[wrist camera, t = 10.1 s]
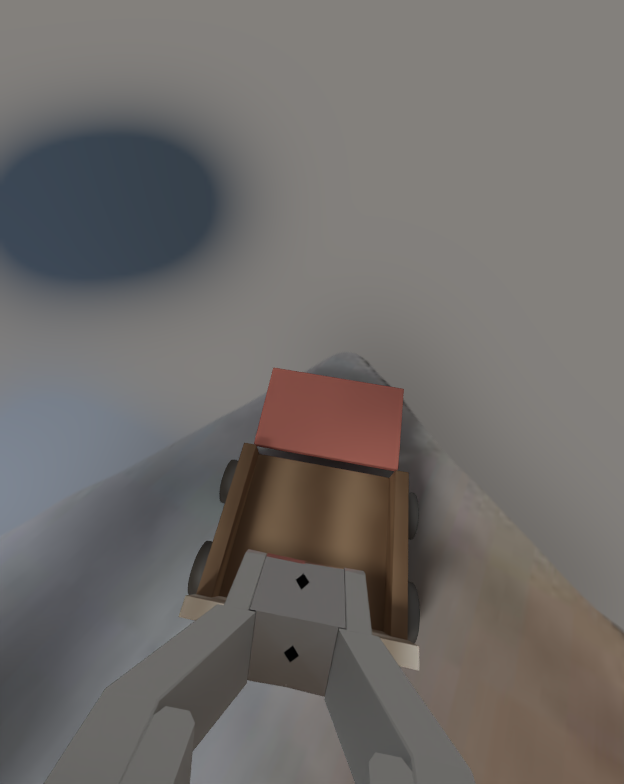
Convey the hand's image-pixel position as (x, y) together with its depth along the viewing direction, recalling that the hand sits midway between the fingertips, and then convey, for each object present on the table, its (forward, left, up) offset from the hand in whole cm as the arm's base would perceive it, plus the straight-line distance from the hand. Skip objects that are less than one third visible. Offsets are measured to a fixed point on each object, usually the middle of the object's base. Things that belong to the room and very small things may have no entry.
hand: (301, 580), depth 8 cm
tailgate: (0, +11, -21) cm, 24 cm away
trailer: (0, +3, -25) cm, 26 cm away
